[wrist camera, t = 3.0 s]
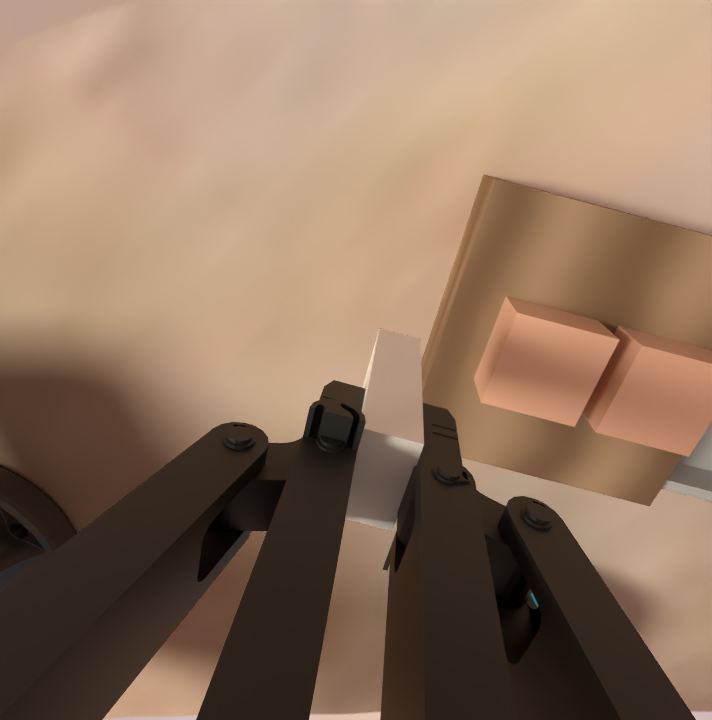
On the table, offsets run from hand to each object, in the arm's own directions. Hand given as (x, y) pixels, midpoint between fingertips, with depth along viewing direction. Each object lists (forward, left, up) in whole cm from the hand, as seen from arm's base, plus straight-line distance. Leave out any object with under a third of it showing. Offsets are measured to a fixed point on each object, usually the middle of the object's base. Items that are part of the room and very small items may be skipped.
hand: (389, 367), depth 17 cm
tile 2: (+7, 0, -7) cm, 10 cm away
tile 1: (+13, 0, -7) cm, 14 cm away
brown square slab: (+10, 0, -10) cm, 14 cm away
